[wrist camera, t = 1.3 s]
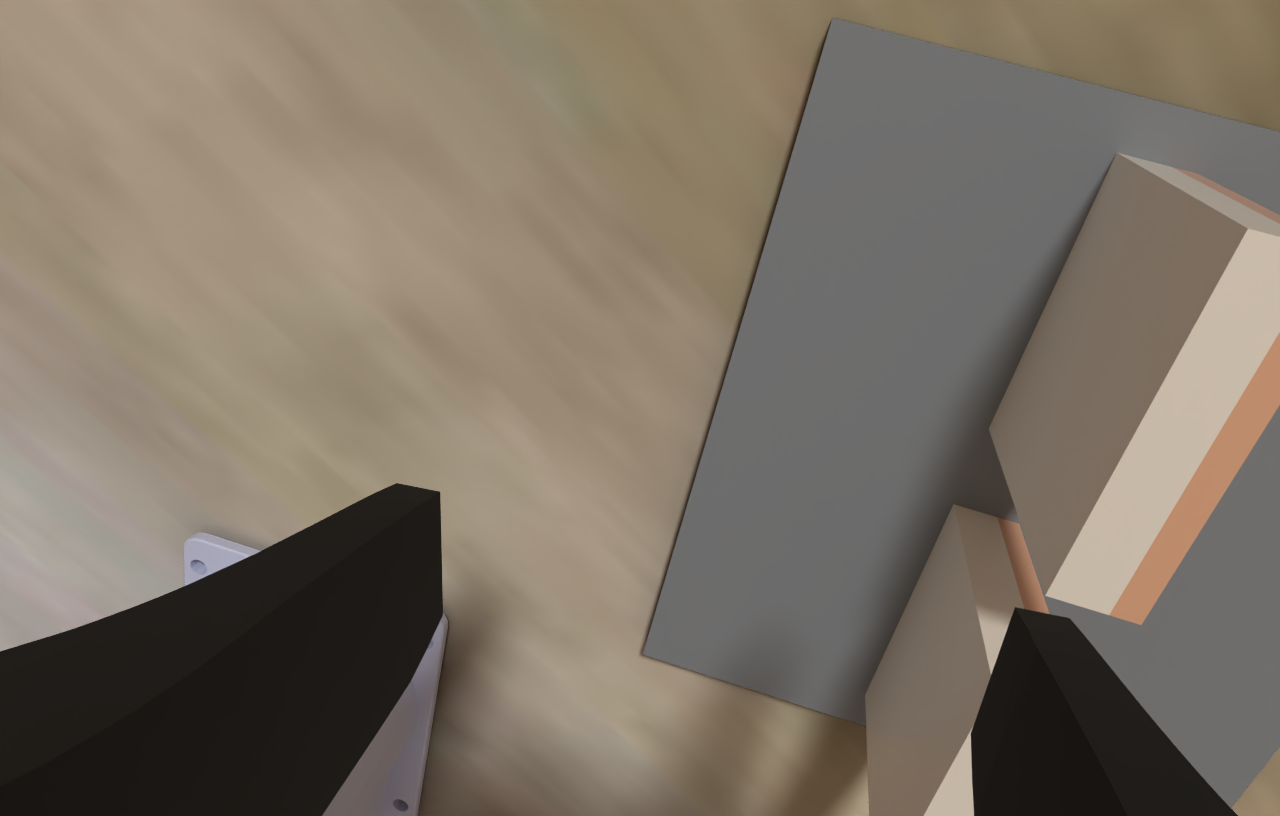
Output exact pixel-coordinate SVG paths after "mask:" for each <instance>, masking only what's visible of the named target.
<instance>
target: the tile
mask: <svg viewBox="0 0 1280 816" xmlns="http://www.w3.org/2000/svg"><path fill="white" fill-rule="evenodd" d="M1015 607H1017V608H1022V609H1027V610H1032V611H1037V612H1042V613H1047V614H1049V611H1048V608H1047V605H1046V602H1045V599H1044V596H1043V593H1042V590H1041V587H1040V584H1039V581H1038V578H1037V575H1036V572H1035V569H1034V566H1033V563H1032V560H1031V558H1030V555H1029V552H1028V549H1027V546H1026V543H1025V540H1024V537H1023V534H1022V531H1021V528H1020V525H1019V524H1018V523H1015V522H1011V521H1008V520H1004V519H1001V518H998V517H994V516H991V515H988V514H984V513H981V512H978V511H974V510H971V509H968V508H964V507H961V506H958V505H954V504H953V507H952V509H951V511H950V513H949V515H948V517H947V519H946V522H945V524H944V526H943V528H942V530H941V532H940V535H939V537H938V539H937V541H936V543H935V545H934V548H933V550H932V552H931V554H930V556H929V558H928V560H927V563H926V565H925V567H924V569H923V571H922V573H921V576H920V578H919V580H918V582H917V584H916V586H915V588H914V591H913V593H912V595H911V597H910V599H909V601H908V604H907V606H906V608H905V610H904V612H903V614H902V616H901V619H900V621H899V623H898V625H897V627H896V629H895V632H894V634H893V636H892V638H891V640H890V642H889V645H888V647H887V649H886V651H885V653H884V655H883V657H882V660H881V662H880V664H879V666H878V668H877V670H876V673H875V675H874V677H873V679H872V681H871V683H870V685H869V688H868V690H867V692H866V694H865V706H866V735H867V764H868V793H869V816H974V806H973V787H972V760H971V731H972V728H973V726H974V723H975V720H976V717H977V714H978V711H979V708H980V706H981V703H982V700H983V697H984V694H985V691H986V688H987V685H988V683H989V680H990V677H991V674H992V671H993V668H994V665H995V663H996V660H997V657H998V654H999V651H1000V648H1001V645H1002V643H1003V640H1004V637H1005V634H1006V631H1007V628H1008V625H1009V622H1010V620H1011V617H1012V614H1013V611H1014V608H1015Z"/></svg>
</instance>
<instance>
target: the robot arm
mask: <svg viewBox="0 0 1280 816" xmlns="http://www.w3.org/2000/svg"><path fill="white" fill-rule="evenodd" d="M202 562H203V563H204V564H205V565H203V564H202ZM447 630H448V620H447V618H446V616H445V614H443V599H442V554H441V509H440V492H438V491H433V490H428V489H423V488H418V487H413V486H408V485H403V484H398V483H396V484H394V485H392V486H390V487H387V488H385V489H383V490H381V491H378V492H376V493H374V494H372V495H370V496H368V497H366V498H364V499H362V500H360V501H358V502H356V503H354V504H352V505H350V506H348V507H347V508H345V509H343V510H341V511H339V512H337V513H335V514H333V515H331V516H329V517H327V518H325V519H323V520H321V521H319V522H318V523H316V524H314V525H312V526H310V527H308V528H306V529H304V530H302V531H300V532H298V533H296V534H294V535H292V536H290V537H288V538H286V539H284V540H282V541H280V542H278V543H276V544H274V545H272V546H270V547H268V548H266V549H264V550H262V551H260V550H257V549H254V548H250V547H247V546H244V545H241V544H238V543H235V542H232V541H229V540H226V539H223V538H220V537H217V536H214V535H210V534H207V533H202V532H199V533H195V534H194V535H193V536H191V537H190V538H189V539H188V540H187V541H186V542H185V544H184V587H182V588H179V589H177V590H175V591H172V592H170V593H168V594H165V595H163V596H160V597H158V598H155V599H153V600H150V601H148V602H145V603H143V604H140V605H138V606H135V607H133V608H130V609H127V610H124V611H122V612H119V613H116V614H114V615H111V616H108V617H105V618H103V619H100V620H97V621H95V622H92V623H89V624H86V625H83V626H81V627H78V628H75V629H72V630H69V631H66V632H63V633H59V634H56V635H53V636H50V637H46V638H43V639H40V640H37V641H33V642H30V643H27V644H23V645H20V646H17V647H14V648H10V649H7V650H4V651H1V652H0V816H418V810H419V804H420V797H421V791H422V785H423V779H424V772H425V766H426V760H427V754H428V748H429V741H430V735H431V729H432V723H433V717H434V710H435V704H436V698H437V692H438V685H439V679H440V673H441V667H442V661H443V654H444V648H445V642H446V636H447ZM971 760H972V787H973V806H974V816H1238V815H1237V814H1236V813H1235V812H1234V811H1233V810H1232V809H1231V808H1230V807H1229V806H1228V805H1227V804H1226V802H1225V801H1224V800H1223V799H1222V798H1221V797H1220V796H1219V795H1218V794H1217V793H1216V792H1215V790H1214V789H1213V788H1212V787H1211V786H1210V785H1209V784H1208V783H1207V782H1206V780H1205V779H1204V778H1203V777H1202V776H1201V775H1200V774H1199V773H1198V772H1197V770H1196V769H1195V768H1194V767H1193V766H1192V765H1191V764H1190V762H1189V761H1188V760H1187V759H1186V758H1185V757H1184V755H1183V754H1182V753H1181V752H1180V751H1179V750H1178V749H1177V747H1176V746H1175V745H1174V744H1173V743H1172V742H1171V740H1170V739H1169V738H1168V737H1167V736H1166V734H1165V733H1164V732H1163V731H1162V730H1161V729H1160V727H1159V726H1158V725H1157V724H1156V723H1155V721H1154V720H1153V719H1152V718H1151V717H1150V715H1149V714H1148V713H1147V712H1146V711H1145V709H1144V708H1143V707H1142V706H1141V705H1140V703H1139V702H1138V701H1137V700H1136V698H1135V697H1134V696H1133V695H1132V693H1131V692H1130V691H1129V690H1128V689H1127V687H1126V686H1125V685H1124V684H1123V682H1122V681H1121V680H1120V679H1119V677H1118V676H1117V675H1116V674H1115V673H1114V671H1113V670H1112V669H1111V668H1110V666H1109V665H1108V664H1107V663H1106V661H1105V660H1104V659H1103V658H1102V656H1101V655H1100V654H1099V653H1098V651H1097V650H1096V649H1095V648H1094V646H1093V645H1092V644H1091V643H1090V642H1089V640H1088V639H1087V638H1086V637H1085V635H1084V634H1083V633H1082V632H1081V631H1080V629H1079V628H1078V627H1077V626H1076V625H1075V624H1074V623H1073V621H1072V620H1071V619H1070V618H1067V617H1062V616H1057V615H1052V614H1047V613H1042V612H1037V611H1032V610H1027V609H1022V608H1017V607H1015V608H1014V611H1013V614H1012V617H1011V620H1010V622H1009V625H1008V628H1007V631H1006V634H1005V637H1004V640H1003V643H1002V645H1001V648H1000V651H999V654H998V657H997V660H996V663H995V665H994V668H993V671H992V674H991V677H990V680H989V683H988V685H987V688H986V691H985V694H984V697H983V700H982V703H981V706H980V708H979V711H978V714H977V717H976V720H975V723H974V726H973V728H972V731H971Z"/></svg>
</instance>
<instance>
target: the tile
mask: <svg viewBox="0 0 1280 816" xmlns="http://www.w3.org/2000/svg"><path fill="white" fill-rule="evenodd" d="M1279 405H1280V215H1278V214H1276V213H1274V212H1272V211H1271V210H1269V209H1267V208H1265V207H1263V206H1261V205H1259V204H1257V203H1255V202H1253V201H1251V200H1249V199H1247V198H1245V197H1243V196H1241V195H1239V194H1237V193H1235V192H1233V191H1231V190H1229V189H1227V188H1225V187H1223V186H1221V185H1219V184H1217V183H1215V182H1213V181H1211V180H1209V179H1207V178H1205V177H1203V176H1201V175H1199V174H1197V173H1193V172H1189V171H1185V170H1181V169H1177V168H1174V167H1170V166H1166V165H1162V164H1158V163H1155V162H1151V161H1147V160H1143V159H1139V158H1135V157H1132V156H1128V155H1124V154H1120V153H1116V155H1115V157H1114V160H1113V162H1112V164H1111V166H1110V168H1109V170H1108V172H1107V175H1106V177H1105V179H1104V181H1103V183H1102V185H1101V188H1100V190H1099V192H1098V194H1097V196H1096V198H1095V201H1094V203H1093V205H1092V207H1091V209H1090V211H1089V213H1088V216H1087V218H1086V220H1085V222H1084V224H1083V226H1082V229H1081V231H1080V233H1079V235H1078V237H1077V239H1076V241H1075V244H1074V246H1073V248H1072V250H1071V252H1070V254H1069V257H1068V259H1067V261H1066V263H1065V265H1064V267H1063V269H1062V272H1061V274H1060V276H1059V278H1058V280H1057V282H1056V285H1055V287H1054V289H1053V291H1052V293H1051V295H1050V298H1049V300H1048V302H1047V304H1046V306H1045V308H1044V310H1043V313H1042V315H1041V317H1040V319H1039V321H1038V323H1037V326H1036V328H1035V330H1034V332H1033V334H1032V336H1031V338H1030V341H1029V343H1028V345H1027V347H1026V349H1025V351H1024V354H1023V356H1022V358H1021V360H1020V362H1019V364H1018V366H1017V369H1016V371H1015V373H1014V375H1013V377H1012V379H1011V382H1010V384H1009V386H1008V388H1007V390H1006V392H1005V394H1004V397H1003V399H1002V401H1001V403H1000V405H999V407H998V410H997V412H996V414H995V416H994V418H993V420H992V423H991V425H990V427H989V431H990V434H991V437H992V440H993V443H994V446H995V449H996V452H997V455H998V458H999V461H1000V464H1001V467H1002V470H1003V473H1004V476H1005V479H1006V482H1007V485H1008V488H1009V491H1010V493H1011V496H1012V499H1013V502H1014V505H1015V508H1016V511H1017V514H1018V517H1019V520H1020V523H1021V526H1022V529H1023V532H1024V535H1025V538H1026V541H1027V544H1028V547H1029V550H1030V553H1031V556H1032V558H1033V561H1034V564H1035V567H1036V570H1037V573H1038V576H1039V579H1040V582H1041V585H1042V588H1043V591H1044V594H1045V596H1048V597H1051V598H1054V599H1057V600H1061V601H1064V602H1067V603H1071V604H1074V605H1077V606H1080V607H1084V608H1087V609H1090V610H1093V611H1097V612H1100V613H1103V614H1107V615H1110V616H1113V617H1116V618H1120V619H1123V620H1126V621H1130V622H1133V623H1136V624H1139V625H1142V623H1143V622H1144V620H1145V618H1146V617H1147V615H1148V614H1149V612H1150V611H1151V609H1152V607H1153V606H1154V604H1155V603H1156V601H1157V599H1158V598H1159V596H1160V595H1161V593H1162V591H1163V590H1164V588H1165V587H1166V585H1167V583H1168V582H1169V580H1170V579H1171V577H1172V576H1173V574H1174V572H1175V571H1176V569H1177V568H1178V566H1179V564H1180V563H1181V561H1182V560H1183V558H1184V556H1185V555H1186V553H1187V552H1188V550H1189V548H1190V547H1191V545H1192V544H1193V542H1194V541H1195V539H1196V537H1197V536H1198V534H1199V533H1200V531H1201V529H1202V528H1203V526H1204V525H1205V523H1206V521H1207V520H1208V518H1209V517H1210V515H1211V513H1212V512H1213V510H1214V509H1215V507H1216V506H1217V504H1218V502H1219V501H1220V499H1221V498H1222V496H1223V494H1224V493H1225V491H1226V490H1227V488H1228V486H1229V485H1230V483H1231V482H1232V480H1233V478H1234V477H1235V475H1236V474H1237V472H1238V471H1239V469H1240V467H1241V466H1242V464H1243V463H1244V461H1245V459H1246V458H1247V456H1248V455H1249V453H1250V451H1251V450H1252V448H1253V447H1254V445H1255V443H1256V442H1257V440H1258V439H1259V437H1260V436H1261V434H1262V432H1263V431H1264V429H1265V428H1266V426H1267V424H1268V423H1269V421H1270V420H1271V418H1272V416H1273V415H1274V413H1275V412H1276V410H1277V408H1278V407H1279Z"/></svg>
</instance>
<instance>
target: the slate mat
mask: <svg viewBox="0 0 1280 816" xmlns="http://www.w3.org/2000/svg"><path fill="white" fill-rule="evenodd" d="M1116 153H1120V154H1124V155H1128V156H1132V157H1135V158H1139V159H1143V160H1147V161H1151V162H1155V163H1158V164H1162V165H1166V166H1170V167H1174V168H1177V169H1181V170H1185V171H1189V172H1193V173H1197V174H1199V175H1201V176H1203V177H1205V178H1207V179H1209V180H1211V181H1213V182H1215V183H1217V184H1219V185H1221V186H1223V187H1225V188H1227V189H1229V190H1231V191H1233V192H1235V193H1237V194H1239V195H1241V196H1243V197H1245V198H1247V199H1249V200H1251V201H1253V202H1255V203H1257V204H1259V205H1261V206H1263V207H1265V208H1267V209H1269V210H1271V211H1272V212H1274V213H1276V214H1278V215H1280V132H1279V131H1275V130H1271V129H1267V128H1263V127H1259V126H1255V125H1251V124H1247V123H1243V122H1240V121H1236V120H1232V119H1228V118H1224V117H1220V116H1216V115H1212V114H1208V113H1204V112H1200V111H1197V110H1193V109H1189V108H1185V107H1181V106H1177V105H1173V104H1169V103H1165V102H1161V101H1157V100H1154V99H1150V98H1146V97H1142V96H1138V95H1134V94H1130V93H1126V92H1122V91H1118V90H1114V89H1111V88H1107V87H1103V86H1099V85H1095V84H1091V83H1087V82H1083V81H1079V80H1075V79H1071V78H1067V77H1064V76H1060V75H1056V74H1052V73H1048V72H1044V71H1040V70H1036V69H1032V68H1028V67H1024V66H1021V65H1017V64H1013V63H1009V62H1005V61H1001V60H997V59H993V58H989V57H985V56H981V55H978V54H974V53H970V52H966V51H962V50H958V49H954V48H950V47H946V46H942V45H938V44H935V43H931V42H927V41H923V40H919V39H915V38H911V37H907V36H903V35H899V34H895V33H892V32H888V31H884V30H880V29H876V28H872V27H868V26H864V25H860V24H856V23H852V22H848V21H845V20H841V19H837V18H832V21H831V24H830V28H829V31H828V34H827V38H826V41H825V44H824V48H823V51H822V54H821V58H820V61H819V64H818V68H817V71H816V75H815V78H814V81H813V85H812V88H811V91H810V95H809V98H808V101H807V105H806V108H805V111H804V115H803V118H802V122H801V125H800V128H799V132H798V135H797V138H796V142H795V145H794V148H793V152H792V155H791V158H790V162H789V165H788V169H787V172H786V175H785V179H784V182H783V185H782V189H781V192H780V195H779V199H778V202H777V205H776V209H775V212H774V216H773V219H772V222H771V226H770V229H769V232H768V236H767V239H766V242H765V246H764V249H763V252H762V256H761V259H760V262H759V266H758V269H757V273H756V276H755V279H754V283H753V286H752V289H751V293H750V296H749V299H748V303H747V306H746V309H745V313H744V316H743V320H742V323H741V326H740V330H739V333H738V336H737V340H736V343H735V346H734V350H733V353H732V356H731V360H730V363H729V367H728V370H727V373H726V377H725V380H724V383H723V387H722V390H721V393H720V397H719V400H718V403H717V407H716V410H715V413H714V417H713V420H712V424H711V427H710V430H709V434H708V437H707V440H706V444H705V447H704V450H703V454H702V457H701V460H700V464H699V467H698V471H697V474H696V477H695V481H694V484H693V487H692V491H691V494H690V497H689V501H688V504H687V507H686V511H685V514H684V518H683V521H682V524H681V528H680V531H679V534H678V538H677V541H676V544H675V548H674V551H673V554H672V558H671V561H670V565H669V568H668V571H667V575H666V578H665V581H664V585H663V588H662V591H661V595H660V598H659V601H658V605H657V608H656V611H655V615H654V618H653V622H652V625H651V628H650V632H649V635H648V638H647V642H646V645H645V648H644V652H643V655H645V656H648V657H652V658H655V659H658V660H661V661H664V662H667V663H670V664H673V665H676V666H679V667H683V668H686V669H689V670H692V671H695V672H698V673H701V674H704V675H707V676H710V677H714V678H717V679H720V680H723V681H726V682H729V683H732V684H735V685H738V686H741V687H745V688H748V689H751V690H754V691H757V692H760V693H763V694H766V695H769V696H772V697H776V698H779V699H782V700H785V701H788V702H791V703H794V704H797V705H800V706H803V707H807V708H810V709H813V710H816V711H819V712H822V713H825V714H828V715H831V716H834V717H837V718H841V719H844V720H847V721H850V722H853V723H856V724H859V725H862V726H865V727H866V706H865V694H866V692H867V690H868V688H869V685H870V683H871V681H872V679H873V677H874V675H875V673H876V670H877V668H878V666H879V664H880V662H881V660H882V657H883V655H884V653H885V651H886V649H887V647H888V645H889V642H890V640H891V638H892V636H893V634H894V632H895V629H896V627H897V625H898V623H899V621H900V619H901V616H902V614H903V612H904V610H905V608H906V606H907V604H908V601H909V599H910V597H911V595H912V593H913V591H914V588H915V586H916V584H917V582H918V580H919V578H920V576H921V573H922V571H923V569H924V567H925V565H926V563H927V560H928V558H929V556H930V554H931V552H932V550H933V548H934V545H935V543H936V541H937V539H938V537H939V535H940V532H941V530H942V528H943V526H944V524H945V522H946V519H947V517H948V515H949V513H950V511H951V509H952V507H953V504H954V505H958V506H961V507H964V508H968V509H971V510H974V511H978V512H981V513H984V514H988V515H991V516H994V517H998V518H1001V519H1004V520H1008V521H1011V522H1015V523H1018V524H1019V525H1020V528H1021V531H1022V534H1023V537H1024V540H1025V543H1026V546H1027V549H1028V552H1029V555H1030V558H1031V560H1032V563H1033V566H1034V569H1035V572H1036V575H1037V578H1038V581H1039V584H1040V587H1041V590H1042V593H1043V596H1044V599H1045V602H1046V605H1047V608H1048V611H1049V614H1052V615H1057V616H1062V617H1067V618H1070V619H1071V620H1072V621H1073V623H1074V624H1075V625H1076V626H1077V627H1078V628H1079V629H1080V631H1081V632H1082V633H1083V634H1084V635H1085V637H1086V638H1087V639H1088V640H1089V642H1090V643H1091V644H1092V645H1093V646H1094V648H1095V649H1096V650H1097V651H1098V653H1099V654H1100V655H1101V656H1102V658H1103V659H1104V660H1105V661H1106V663H1107V664H1108V665H1109V666H1110V668H1111V669H1112V670H1113V671H1114V673H1115V674H1116V675H1117V676H1118V677H1119V679H1120V680H1121V681H1122V682H1123V684H1124V685H1125V686H1126V687H1127V689H1128V690H1129V691H1130V692H1131V693H1132V695H1133V696H1134V697H1135V698H1136V700H1137V701H1138V702H1139V703H1140V705H1141V706H1142V707H1143V708H1144V709H1145V711H1146V712H1147V713H1148V714H1149V715H1150V717H1151V718H1152V719H1153V720H1154V721H1155V723H1156V724H1157V725H1158V726H1159V727H1160V729H1161V730H1162V731H1163V732H1164V733H1165V734H1166V736H1167V737H1168V738H1169V739H1170V740H1171V742H1172V743H1173V744H1174V745H1175V746H1176V747H1177V749H1178V750H1179V751H1180V752H1181V753H1182V754H1183V755H1184V757H1185V758H1186V759H1187V760H1188V761H1189V762H1190V764H1191V765H1192V766H1193V767H1194V768H1195V769H1196V770H1197V772H1198V773H1199V774H1200V775H1201V776H1202V777H1203V778H1204V779H1205V780H1206V782H1207V783H1208V784H1209V785H1210V786H1211V787H1212V788H1213V789H1214V790H1215V792H1216V793H1217V794H1218V795H1219V796H1220V797H1221V798H1222V799H1223V800H1224V801H1225V802H1226V804H1227V805H1228V806H1229V807H1230V808H1232V807H1233V805H1234V804H1235V803H1236V802H1237V800H1238V799H1239V798H1240V796H1241V795H1242V794H1243V793H1244V791H1245V790H1246V789H1247V788H1248V786H1249V785H1250V784H1251V783H1252V781H1253V780H1254V779H1255V777H1256V776H1257V775H1258V774H1259V772H1260V771H1261V770H1262V769H1263V767H1264V766H1265V765H1266V763H1267V762H1268V761H1269V760H1270V758H1271V757H1272V756H1273V755H1274V753H1275V752H1276V751H1277V749H1278V748H1279V747H1280V405H1279V407H1278V408H1277V410H1276V412H1275V413H1274V415H1273V416H1272V418H1271V420H1270V421H1269V423H1268V424H1267V426H1266V428H1265V429H1264V431H1263V432H1262V434H1261V436H1260V437H1259V439H1258V440H1257V442H1256V443H1255V445H1254V447H1253V448H1252V450H1251V451H1250V453H1249V455H1248V456H1247V458H1246V459H1245V461H1244V463H1243V464H1242V466H1241V467H1240V469H1239V471H1238V472H1237V474H1236V475H1235V477H1234V478H1233V480H1232V482H1231V483H1230V485H1229V486H1228V488H1227V490H1226V491H1225V493H1224V494H1223V496H1222V498H1221V499H1220V501H1219V502H1218V504H1217V506H1216V507H1215V509H1214V510H1213V512H1212V513H1211V515H1210V517H1209V518H1208V520H1207V521H1206V523H1205V525H1204V526H1203V528H1202V529H1201V531H1200V533H1199V534H1198V536H1197V537H1196V539H1195V541H1194V542H1193V544H1192V545H1191V547H1190V548H1189V550H1188V552H1187V553H1186V555H1185V556H1184V558H1183V560H1182V561H1181V563H1180V564H1179V566H1178V568H1177V569H1176V571H1175V572H1174V574H1173V576H1172V577H1171V579H1170V580H1169V582H1168V583H1167V585H1166V587H1165V588H1164V590H1163V591H1162V593H1161V595H1160V596H1159V598H1158V599H1157V601H1156V603H1155V604H1154V606H1153V607H1152V609H1151V611H1150V612H1149V614H1148V615H1147V617H1146V618H1145V620H1144V622H1143V623H1142V625H1139V624H1136V623H1133V622H1130V621H1126V620H1123V619H1120V618H1116V617H1113V616H1110V615H1107V614H1103V613H1100V612H1097V611H1093V610H1090V609H1087V608H1084V607H1080V606H1077V605H1074V604H1071V603H1067V602H1064V601H1061V600H1057V599H1054V598H1051V597H1048V596H1045V594H1044V591H1043V588H1042V585H1041V582H1040V579H1039V576H1038V573H1037V570H1036V567H1035V564H1034V561H1033V558H1032V556H1031V553H1030V550H1029V547H1028V544H1027V541H1026V538H1025V535H1024V532H1023V529H1022V526H1021V523H1020V520H1019V517H1018V514H1017V511H1016V508H1015V505H1014V502H1013V499H1012V496H1011V493H1010V491H1009V488H1008V485H1007V482H1006V479H1005V476H1004V473H1003V470H1002V467H1001V464H1000V461H999V458H998V455H997V452H996V449H995V446H994V443H993V440H992V437H991V434H990V431H989V427H990V425H991V423H992V420H993V418H994V416H995V414H996V412H997V410H998V407H999V405H1000V403H1001V401H1002V399H1003V397H1004V394H1005V392H1006V390H1007V388H1008V386H1009V384H1010V382H1011V379H1012V377H1013V375H1014V373H1015V371H1016V369H1017V366H1018V364H1019V362H1020V360H1021V358H1022V356H1023V354H1024V351H1025V349H1026V347H1027V345H1028V343H1029V341H1030V338H1031V336H1032V334H1033V332H1034V330H1035V328H1036V326H1037V323H1038V321H1039V319H1040V317H1041V315H1042V313H1043V310H1044V308H1045V306H1046V304H1047V302H1048V300H1049V298H1050V295H1051V293H1052V291H1053V289H1054V287H1055V285H1056V282H1057V280H1058V278H1059V276H1060V274H1061V272H1062V269H1063V267H1064V265H1065V263H1066V261H1067V259H1068V257H1069V254H1070V252H1071V250H1072V248H1073V246H1074V244H1075V241H1076V239H1077V237H1078V235H1079V233H1080V231H1081V229H1082V226H1083V224H1084V222H1085V220H1086V218H1087V216H1088V213H1089V211H1090V209H1091V207H1092V205H1093V203H1094V201H1095V198H1096V196H1097V194H1098V192H1099V190H1100V188H1101V185H1102V183H1103V181H1104V179H1105V177H1106V175H1107V172H1108V170H1109V168H1110V166H1111V164H1112V162H1113V160H1114V157H1115V155H1116Z"/></svg>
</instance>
